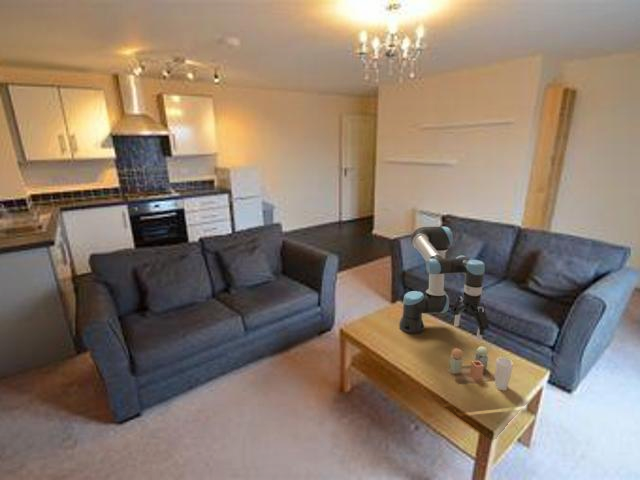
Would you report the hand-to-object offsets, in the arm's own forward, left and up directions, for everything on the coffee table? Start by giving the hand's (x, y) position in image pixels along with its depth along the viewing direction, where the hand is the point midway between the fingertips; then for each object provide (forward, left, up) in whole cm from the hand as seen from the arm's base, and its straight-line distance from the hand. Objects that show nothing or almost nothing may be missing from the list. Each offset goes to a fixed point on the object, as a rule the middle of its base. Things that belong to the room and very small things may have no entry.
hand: (467, 332), depth 162 cm
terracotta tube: (+4, +4, -23) cm, 23 cm away
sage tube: (-2, -3, -23) cm, 23 cm away
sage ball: (-2, +10, -15) cm, 18 cm away
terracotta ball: (-2, -3, -15) cm, 15 cm away
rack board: (+2, +3, -24) cm, 24 cm away
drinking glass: (+12, +13, -24) cm, 30 cm away
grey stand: (-2, +10, -23) cm, 25 cm away
